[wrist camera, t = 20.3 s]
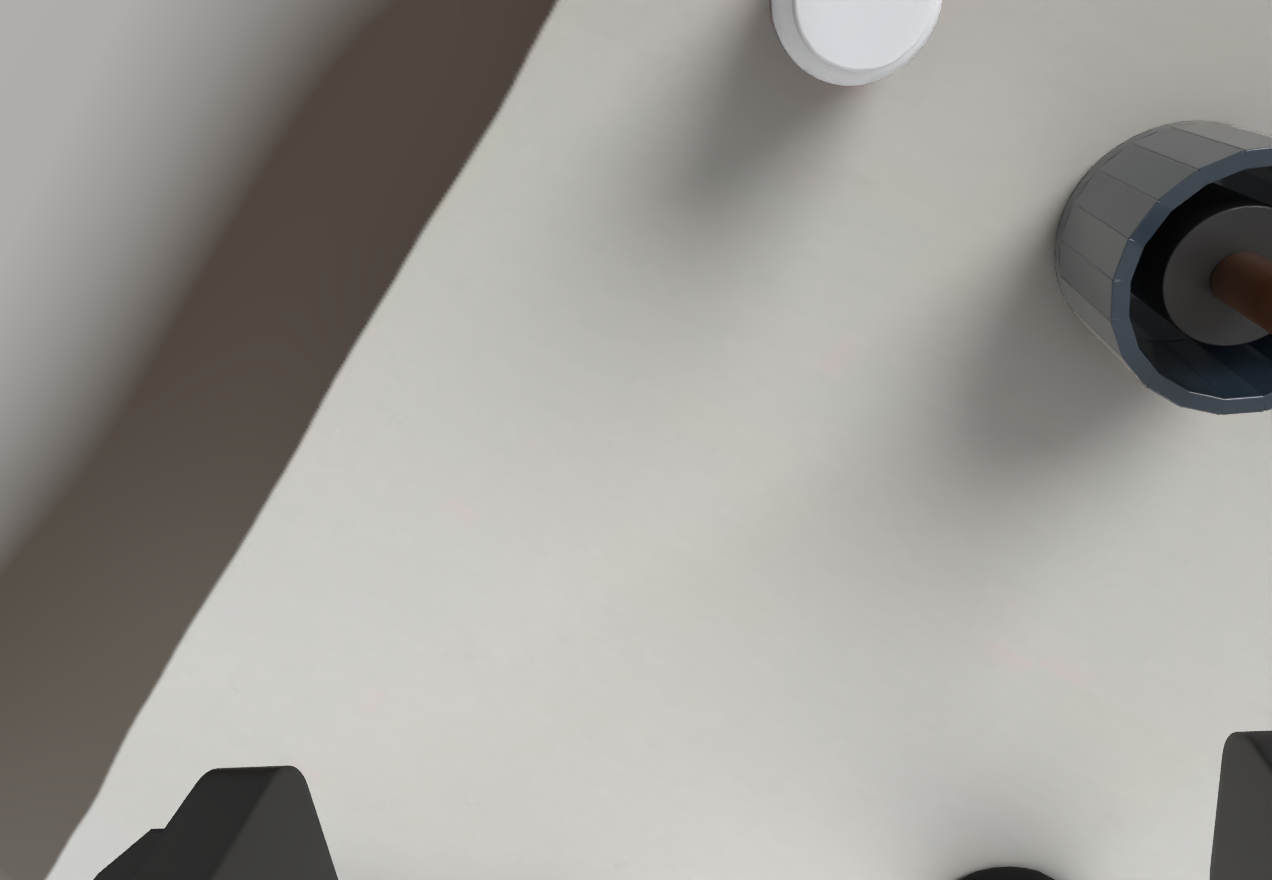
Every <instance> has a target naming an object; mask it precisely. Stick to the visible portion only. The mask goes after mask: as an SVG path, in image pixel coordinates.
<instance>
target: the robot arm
mask: <svg viewBox="0 0 1272 880" xmlns="http://www.w3.org/2000/svg"><path fill="white" fill-rule="evenodd" d="M94 880H338V878H337V875H336V872H335V868H334V865H333V862H332V859H331V856H330V853H329V850H328V847H327V844H326V841H325V838H324V834H323V831H322V828H321V825H320V822H319V819H318V816H317V813H316V810H315V807H314V804H313V800H312V797H311V794H310V791H309V788H308V785H307V783H306V780H305V778H304V776H303V775H302V773H301V772H300V771H299V770H298V769H297V768H295V767H294V766H267V767H242V768H217V769H212V770H210V771H209V772H207V773H206V774H204V775H203V776H202V777H201V778H200V779H199V781H198V782H197V783H196V784H195V786H194V787H193V789H192V790H191V792H190V793H189V794H188V796H187V797H186V799H185V800H184V802H183V803H182V804H181V806H180V807H179V809H178V810H177V812H176V813H175V814H174V816H173V817H172V819H171V820H170V822H169V823H168V824H167V826H166V827H165V829H151V830H150V831H149V832H147V833H146V834H145V835H144V836H143V837H141V838H140V839H139V840H138V841H137V842H136V843H134V844H133V845H132V846H131V847H130V848H128V849H127V850H126V851H125V852H124V853H122V854H121V855H120V856H119V857H118V858H116V859H115V860H114V861H113V862H112V863H110V864H109V865H108V866H107V867H106V868H104V869H103V870H102V871H101V872H100V873H98V875H97V876H96V877H95V879H94ZM1210 880H1272V731H1249V732H1235V733H1232V734H1231V735H1230V736H1229V737H1228V738H1227V740H1226V742H1225V745H1224V749H1223V755H1222V764H1221V773H1220V782H1219V792H1218V801H1217V810H1216V820H1215V829H1214V838H1213V847H1212V857H1211V866H1210Z"/></svg>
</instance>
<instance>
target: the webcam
mask: <svg viewBox="0 0 1272 880" xmlns="http://www.w3.org/2000/svg"><path fill="white" fill-rule="evenodd" d="M963 880H1055V879H1053V878H1051V877H1049V876H1047V875H1045V874H1043V873H1041V872H1039V871H1036V870H1032V869H1027V868H1019V867H998V868H991V869H986V870H982V871H978V872H975V873H973V874H970V875H968V876H967V877H965V878H964V879H963Z"/></svg>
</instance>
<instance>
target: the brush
mask: <svg viewBox="0 0 1272 880" xmlns="http://www.w3.org/2000/svg"><path fill="white" fill-rule="evenodd" d="M1130 292H1131V293H1132V294H1133V295H1135V296H1136V297H1137V298H1139V299H1140V300H1141V301H1142V302H1144V303H1145V304H1146V305H1148V306H1149V307H1150V308H1151V309H1153V310H1154V311H1155V312H1157V313H1158V314H1159V315H1160V316H1162V317H1163V318H1164V319H1165V320H1167V321H1168V322H1169V323H1171V324H1172V325H1173V326H1174V327H1176V328H1177V329H1178V330H1180V331H1181V332H1182V333H1184V334H1185V335H1186V336H1188V337H1190V338H1192V339H1193V340H1196V341H1198V342H1201V343H1204V344H1209V345H1214V346H1234V345H1241V344H1245V343H1249V342H1253V341H1255V340H1258V339H1261V338H1263V337H1265V336H1267V335H1269V334H1272V206H1271V205H1268V204H1266V203H1263V202H1261V201H1258V200H1256V199H1253V198H1251V197H1248V196H1246V195H1243V194H1241V193H1239V192H1236V191H1234V190H1231V189H1229V188H1226V187H1224V186H1221V185H1218V184H1216V183H1211V184H1208V185H1206V186H1204V187H1203V188H1202V189H1200V190H1199V191H1198V192H1196V193H1195V194H1194V195H1192V196H1191V197H1190V198H1189V199H1187V200H1186V201H1185V202H1183V203H1182V204H1181V205H1179V206H1178V207H1177V208H1175V209H1174V210H1173V211H1171V212H1170V214H1169V215H1168V216H1167V218H1166V219H1165V220H1164V222H1163V223H1162V224H1161V225H1160V227H1159V228H1158V229H1157V231H1156V232H1155V233H1154V234H1153V236H1152V237H1151V238H1150V240H1149V241H1148V242H1147V243H1146V245H1145V247H1144V249H1143V252H1142V254H1141V257H1140V259H1139V262H1138V264H1137V267H1136V270H1135V272H1134V275H1133V277H1132V280H1131V290H1130Z"/></svg>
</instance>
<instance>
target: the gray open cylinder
mask: <svg viewBox="0 0 1272 880" xmlns="http://www.w3.org/2000/svg"><path fill="white" fill-rule="evenodd" d="M1211 183H1216V184H1218V185H1221V186H1224V187H1226V188H1229V189H1231V190H1234V191H1236V192H1239V193H1241V194H1243V195H1246V196H1248V197H1251V198H1253V199H1256V200H1258V201H1261V202H1263V203H1266V204H1268V205H1271V206H1272V135H1269V134H1265V133H1262V132H1258V131H1254V130H1250V129H1246V128H1241V127H1236V126H1232V125H1228V124H1223V123H1218V122H1210V121H1186V122H1178V123H1173V124H1167V125H1164V126H1160V127H1157V128H1154V129H1151V130H1148V131H1146V132H1144V133H1141V134H1139V135H1137V136H1134V137H1133V138H1131V139H1129V140H1127V141H1126V142H1124V143H1122V144H1121V145H1119V146H1118V147H1116V148H1115V149H1113V150H1112V151H1111V152H1109V153H1108V154H1107V155H1105V156H1104V157H1103V158H1102V159H1101V160H1100V161H1099V162H1098V163H1097V164H1096V165H1095V166H1094V167H1092V169H1091V170H1090V171H1089V172H1088V173H1087V174H1086V176H1085V177H1084V178H1083V179H1082V180H1081V182H1080V183H1079V185H1078V186H1077V188H1076V189H1075V191H1074V192H1073V194H1072V195H1071V197H1070V199H1069V201H1068V203H1067V205H1066V207H1065V209H1064V212H1063V215H1062V217H1061V220H1060V223H1059V227H1058V231H1057V235H1056V242H1055V269H1056V274H1057V279H1058V283H1059V286H1060V289H1061V291H1062V294H1063V296H1064V298H1065V300H1066V302H1067V304H1068V305H1069V307H1070V308H1071V310H1072V311H1073V312H1074V314H1075V315H1076V316H1077V317H1078V318H1079V319H1080V320H1081V321H1082V322H1083V324H1084V325H1085V326H1086V327H1087V328H1088V330H1089V331H1090V332H1091V333H1092V334H1093V335H1094V336H1095V337H1096V338H1097V339H1098V340H1099V341H1100V342H1101V343H1102V344H1103V345H1104V346H1105V347H1106V348H1107V349H1108V350H1109V351H1110V352H1111V353H1112V354H1113V355H1114V356H1115V357H1116V358H1117V359H1118V360H1119V361H1120V362H1121V363H1122V364H1123V365H1124V366H1125V367H1126V368H1127V369H1128V370H1129V371H1130V372H1131V373H1132V374H1133V375H1134V376H1135V377H1136V378H1137V379H1138V380H1139V381H1140V382H1141V383H1142V384H1143V385H1145V386H1146V387H1147V388H1148V389H1150V390H1152V391H1153V392H1155V393H1157V394H1159V395H1160V396H1162V397H1164V398H1165V399H1167V400H1169V401H1171V402H1172V403H1174V404H1176V405H1177V406H1180V407H1184V408H1188V409H1193V410H1198V411H1203V412H1208V413H1212V414H1217V415H1220V414H1222V415H1225V414H1237V413H1250V412H1262V411H1267V410H1270V409H1272V334H1269V335H1267V336H1265V337H1263V338H1261V339H1258V340H1255V341H1253V342H1249V343H1245V344H1241V345H1234V346H1214V345H1209V344H1204V343H1201V342H1198V341H1196V340H1193V339H1192V338H1190V337H1188V336H1186V335H1185V334H1184V333H1182V332H1181V331H1180V330H1178V329H1177V328H1176V327H1174V326H1173V325H1172V324H1171V323H1169V322H1168V321H1167V320H1165V319H1164V318H1163V317H1162V316H1160V315H1159V314H1158V313H1157V312H1155V311H1154V310H1153V309H1151V308H1150V307H1149V306H1148V305H1146V304H1145V303H1144V302H1142V301H1141V300H1140V299H1139V298H1137V297H1136V296H1135V295H1133V294H1132V293H1131V292H1130V290H1131V280H1132V277H1133V275H1134V272H1135V270H1136V267H1137V264H1138V262H1139V259H1140V257H1141V254H1142V252H1143V249H1144V247H1145V245H1146V243H1147V242H1148V241H1149V240H1150V238H1151V237H1152V236H1153V234H1154V233H1155V232H1156V231H1157V229H1158V228H1159V227H1160V225H1161V224H1162V223H1163V222H1164V220H1165V219H1166V218H1167V216H1168V215H1169V214H1170V212H1171V211H1173V210H1174V209H1175V208H1177V207H1178V206H1179V205H1181V204H1182V203H1183V202H1185V201H1186V200H1187V199H1189V198H1190V197H1191V196H1192V195H1194V194H1195V193H1196V192H1198V191H1199V190H1200V189H1202V188H1203V187H1204V186H1206V185H1208V184H1211Z"/></svg>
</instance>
